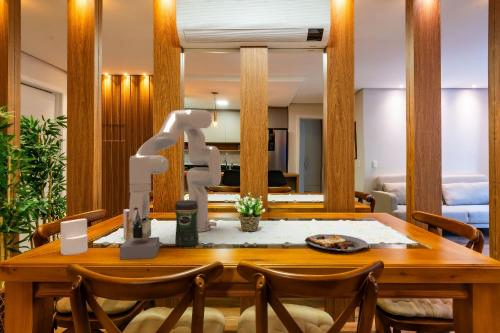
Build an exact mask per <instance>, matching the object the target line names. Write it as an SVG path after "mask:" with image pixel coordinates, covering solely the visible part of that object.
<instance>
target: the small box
mask: <svg viewBox="0 0 500 333" xmlns="http://www.w3.org/2000/svg"><path fill="white" fill-rule="evenodd" d="M122 212H123V213H122V214H123V239H125V241H126V240H127V239H128V238H130V223H132V220H130V219H129V209H128V208H126V209H123V211H122ZM137 219H140V218H139V217H138V218H137Z"/></svg>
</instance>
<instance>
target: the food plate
mask: <svg viewBox="0 0 500 333" xmlns="http://www.w3.org/2000/svg"><path fill="white" fill-rule="evenodd" d="M304 242H305V243H307V244H308V245H310V246H312V247H314V248H318V249H319V248H320V249H324V250H326V251H327V250H329V251H335V252H336V251H337V252H340V251H343V252H346V253H347V252H348V253H349V252H350V253H351V252H353V253H354V252H356V251H358V250H361V249H364V248H368V247H369V244H368V242H367V241H365V240H363V239H361V238H359V237H354V236H351V235H344V234H334V233H333V234H329V233H328V234H327V233H320V234H315V235H311V236H307V237H306V238H305V240H304Z"/></svg>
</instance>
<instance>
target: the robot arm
mask: <svg viewBox="0 0 500 333" xmlns="http://www.w3.org/2000/svg"><path fill="white" fill-rule="evenodd" d="M212 119H213V118H212V115H211V113H210V112H209V111H208V110H206V109H176V110H172V111H171V112H169V113H168V115H167V117H166V118H165V120H164V122H163V124H162V126H161V128H160V129H159V130H158V133H156V134H154V135H153V136H152V137H151V138H149V139H148V140H147V141H145V142H144V143H142V145H141V146H140V147H139V149H138V150H137V152H136V153H135V155H131V156H130V157H129V162H128V163H129V193H130V196H129V205H128V207H129V219H130V220H132V222H133V238H142V227H141V225H142V220H149V215H150V212H151V210H150V207H151V203H150V193H151V192H152V178H151V177H152V175H161V174H164V173H166V172H167V171H168V169H169V167H170V166H169V165H170V163H169V160H168V159H167V158H166V156H164V155H161V154H160V155H159V154H158V155H157V153H159V152H161V151H164V150H166V149H169V148H172V147H174V146H175V145H176V144H177V142H178V140H179V138H180V136H181V134H182V132H183V131H184V133H185V134H186V136H187V144H188V158H189V163H190V164H192V165H197V166H208V167H192V168H190V169H188V171H187V173H186V181H187V188H188V200H194V201H197V204H198V212H197V229H198V233H202V232H203V233H204V232H208V231H210V230H212V227H217V222H215V221H210V220H209V214H208V213H209V210H208V209H209V208H208V207H209V204H208V203H209V202H208V201H209V195H208V192H207V190H206V188H207V187H210V188H211V187H214V188H215V187H218V186H219V185H220V183H221V181H222V168H221V166H222V165H221V160H222V159H221V153H220V150H219V148H218V147H217V146H214V145H206V136H205V133H204V131H203V130H202V129H208V128H209V127H210V126H211V125H212V121H213V120H212ZM205 187H206V188H205ZM138 217H139V218H140V219H137V218H138ZM138 221H139V222H138Z"/></svg>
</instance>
